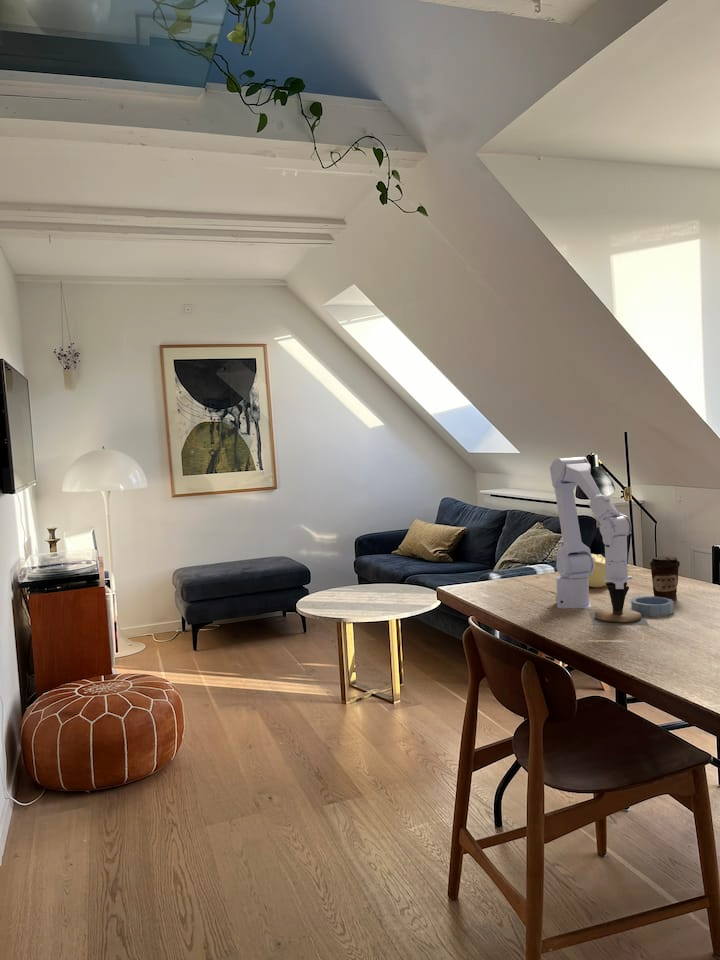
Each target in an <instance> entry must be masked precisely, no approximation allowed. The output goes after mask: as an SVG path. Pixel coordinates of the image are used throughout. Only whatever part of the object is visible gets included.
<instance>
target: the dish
mask: <svg viewBox="0 0 720 960" xmlns="http://www.w3.org/2000/svg"><path fill="white" fill-rule="evenodd" d="M630 610H634V611H637V612H639V613H640V614H641V615H643V616H644V617H667V616H671V615H673V614H674V613H675V601H673V600H672V599H668V598H664V597H654V595H653V596H651V595H650V596H645V595H643V596H637V597H633V598H631V599H630Z"/></svg>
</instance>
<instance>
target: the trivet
mask: <svg viewBox="0 0 720 960" xmlns="http://www.w3.org/2000/svg"><path fill="white" fill-rule="evenodd" d="M595 612H596V611H589V613H588V614H589V615H590V619H591V622H592V625H593V626H649V625H650V624H649V623H648V621H647V619H646V616H643V615H641V619H640V620H637V621H633V622H608V621H603V620H599V619H597V618H596V617H595Z"/></svg>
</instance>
